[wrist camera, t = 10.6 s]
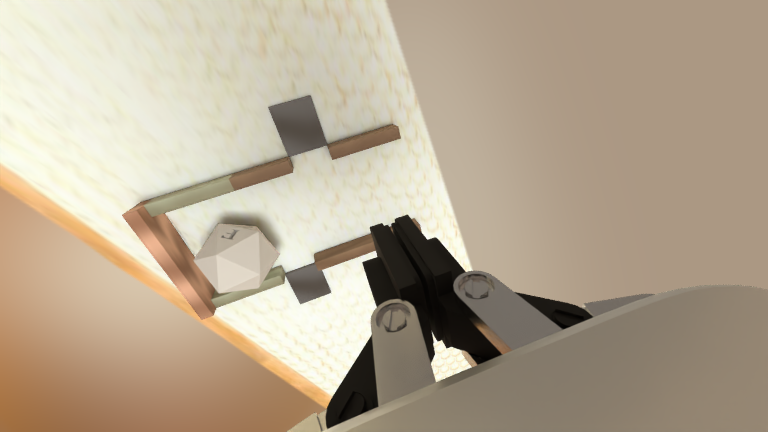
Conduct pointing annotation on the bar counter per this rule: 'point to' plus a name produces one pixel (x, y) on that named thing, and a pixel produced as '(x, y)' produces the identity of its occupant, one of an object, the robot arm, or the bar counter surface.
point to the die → (236, 257)
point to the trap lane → (297, 136)
